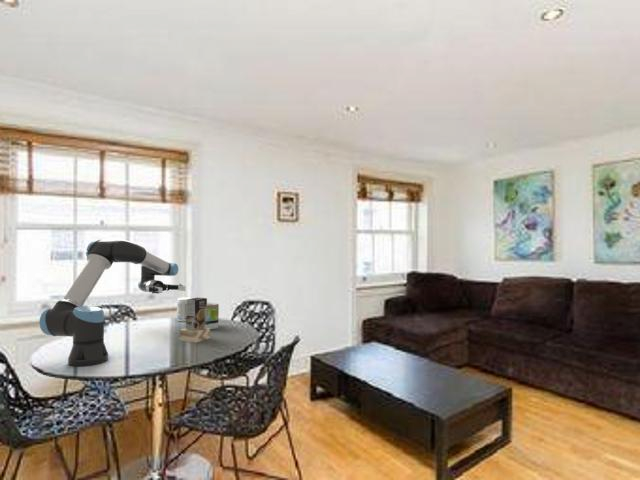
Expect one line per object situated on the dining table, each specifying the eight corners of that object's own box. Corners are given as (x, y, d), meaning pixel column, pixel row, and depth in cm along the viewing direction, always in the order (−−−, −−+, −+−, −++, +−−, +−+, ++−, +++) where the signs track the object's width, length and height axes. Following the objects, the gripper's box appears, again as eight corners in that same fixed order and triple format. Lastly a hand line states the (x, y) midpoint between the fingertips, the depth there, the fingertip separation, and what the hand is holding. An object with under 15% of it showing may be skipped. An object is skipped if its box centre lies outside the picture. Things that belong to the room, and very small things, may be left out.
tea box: (219, 328, 244) (219, 303, 244) (204, 330, 236) (204, 305, 236) (205, 324, 254) (205, 301, 254) (190, 327, 246) (191, 302, 246)
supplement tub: (192, 318, 271) (193, 297, 271) (191, 321, 262) (191, 299, 262) (177, 319, 269) (178, 297, 269) (175, 322, 260) (176, 299, 260)
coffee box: (195, 330, 211) (196, 300, 211) (185, 329, 213) (186, 298, 213) (205, 327, 219) (207, 298, 219) (196, 326, 222) (197, 296, 222)
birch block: (195, 343, 209) (195, 331, 209) (179, 340, 214) (180, 329, 214) (210, 338, 219) (210, 327, 219) (194, 336, 224) (194, 325, 224)
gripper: (174, 291, 246) (193, 294, 232) (133, 294, 227) (151, 298, 213) (175, 279, 246) (193, 281, 232) (134, 281, 227) (151, 284, 213)
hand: (173, 289), depth 223 cm, fingers open, 13 cm apart
